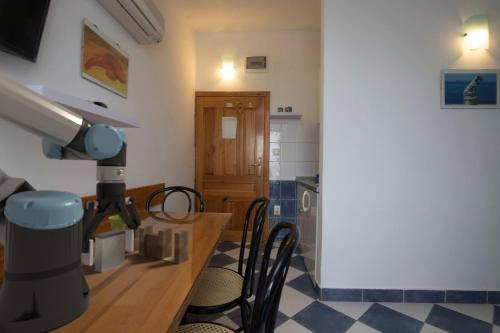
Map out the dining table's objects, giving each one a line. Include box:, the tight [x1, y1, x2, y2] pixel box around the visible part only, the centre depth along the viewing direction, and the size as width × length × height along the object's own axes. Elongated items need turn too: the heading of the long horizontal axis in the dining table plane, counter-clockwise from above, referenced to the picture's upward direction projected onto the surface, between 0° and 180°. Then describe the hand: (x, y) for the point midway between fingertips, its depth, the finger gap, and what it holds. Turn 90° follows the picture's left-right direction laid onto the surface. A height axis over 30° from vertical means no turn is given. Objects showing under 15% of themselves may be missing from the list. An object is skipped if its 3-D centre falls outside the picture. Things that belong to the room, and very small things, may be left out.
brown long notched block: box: [125, 224, 189, 265], centre depth 82 cm, size 4×24×9 cm, turn 65°
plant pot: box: [108, 214, 126, 231], centre depth 104 cm, size 9×9×9 cm
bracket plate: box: [94, 230, 126, 274], centre depth 72 cm, size 7×3×10 cm, turn 155°
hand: (110, 257), depth 72 cm, fingers open, 12 cm apart
